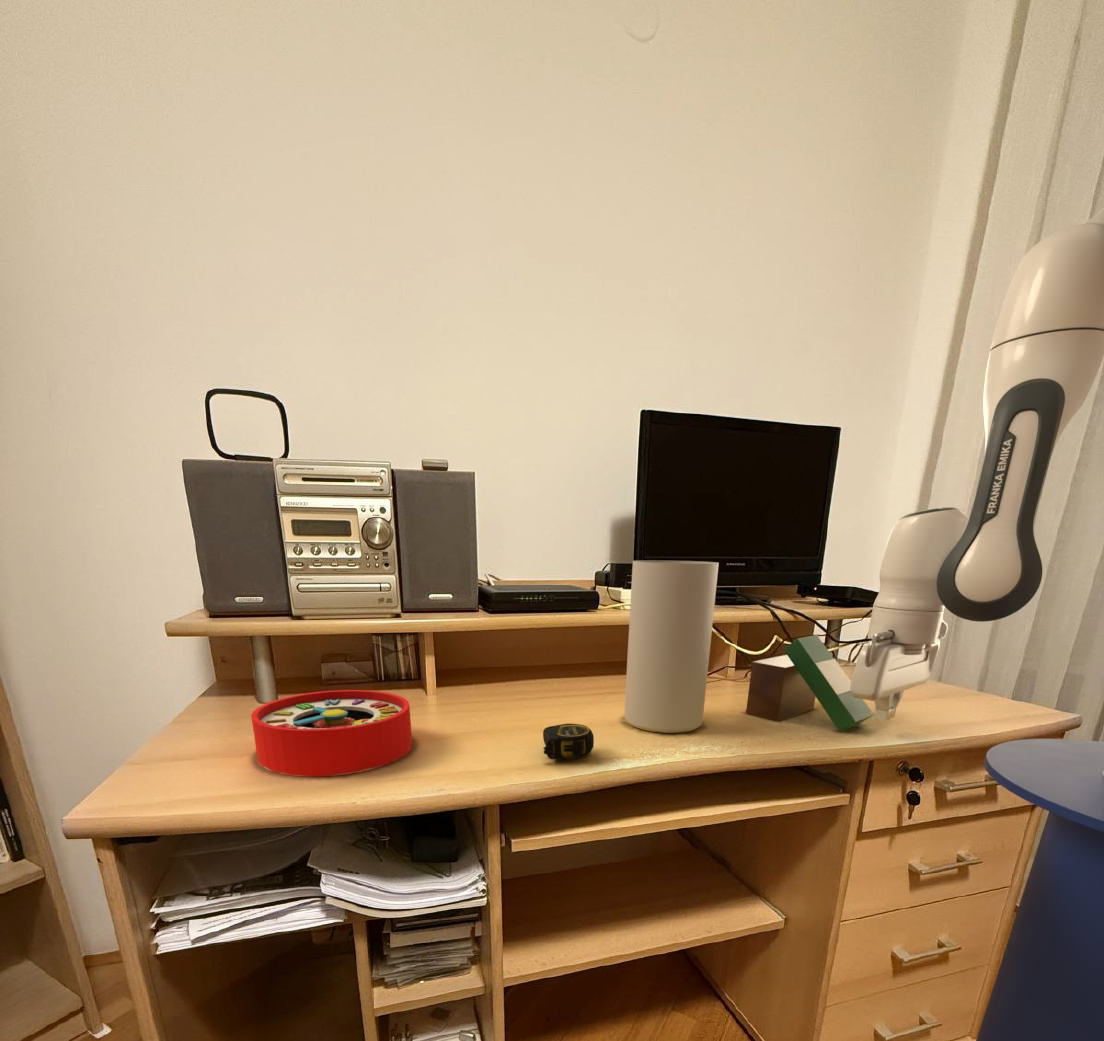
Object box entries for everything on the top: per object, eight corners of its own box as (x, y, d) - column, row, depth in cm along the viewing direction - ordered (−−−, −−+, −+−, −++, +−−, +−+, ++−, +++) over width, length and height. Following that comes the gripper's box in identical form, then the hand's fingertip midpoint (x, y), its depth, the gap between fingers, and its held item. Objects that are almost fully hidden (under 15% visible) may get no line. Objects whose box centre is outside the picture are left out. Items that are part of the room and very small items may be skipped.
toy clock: (440, 705, 80) (306, 742, 65) (441, 745, 82) (312, 790, 67) (353, 683, 92) (221, 710, 77) (356, 719, 94) (228, 751, 78)
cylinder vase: (608, 720, 95) (615, 560, 87) (657, 707, 103) (668, 560, 95) (668, 740, 86) (683, 564, 78) (717, 724, 94) (735, 563, 86)
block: (813, 709, 103) (821, 659, 100) (777, 721, 96) (785, 667, 93) (782, 702, 108) (789, 654, 105) (745, 713, 100) (752, 661, 98)
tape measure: (542, 747, 82) (542, 721, 81) (590, 747, 83) (591, 721, 81) (543, 764, 76) (543, 737, 75) (595, 764, 76) (596, 737, 75)
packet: (871, 727, 94) (888, 644, 89) (853, 735, 90) (869, 648, 85) (793, 708, 103) (805, 633, 99) (773, 715, 99) (785, 636, 95)
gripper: (897, 637, 76) (875, 737, 80) (952, 625, 88) (931, 712, 93) (848, 631, 80) (830, 726, 85) (907, 620, 93) (889, 704, 97)
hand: (883, 719), depth 89 cm, fingers closed
